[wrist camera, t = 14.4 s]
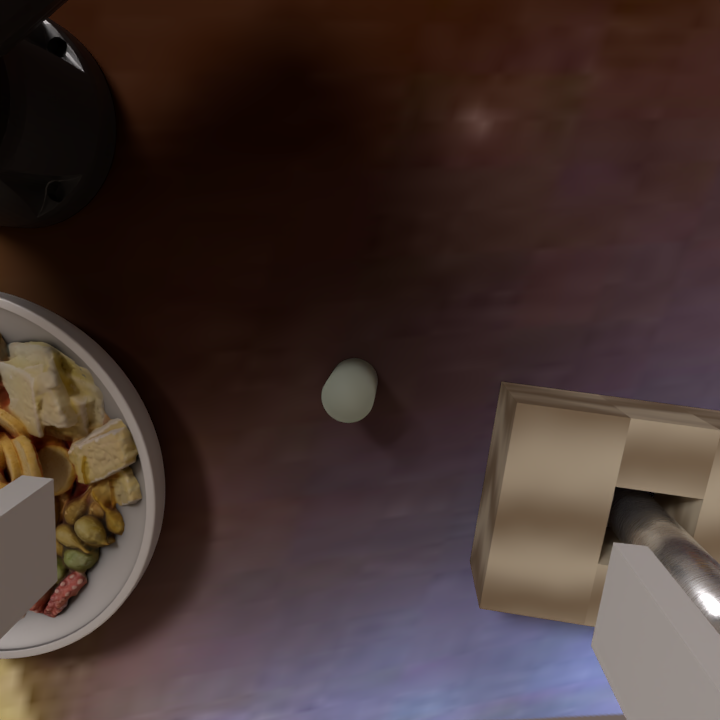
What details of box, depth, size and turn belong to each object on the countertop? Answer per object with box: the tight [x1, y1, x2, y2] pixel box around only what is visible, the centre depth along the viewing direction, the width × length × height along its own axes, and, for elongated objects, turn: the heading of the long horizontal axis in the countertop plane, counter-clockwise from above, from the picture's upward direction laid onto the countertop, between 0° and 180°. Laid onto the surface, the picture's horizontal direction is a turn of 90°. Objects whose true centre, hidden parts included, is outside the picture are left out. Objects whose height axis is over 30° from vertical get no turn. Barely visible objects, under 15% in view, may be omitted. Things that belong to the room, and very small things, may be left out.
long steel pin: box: [607, 487, 720, 635], centre depth 34 cm, size 4×4×16 cm
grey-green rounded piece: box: [321, 358, 378, 423], centre depth 40 cm, size 4×4×5 cm
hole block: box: [470, 382, 720, 627], centre depth 39 cm, size 15×20×6 cm
